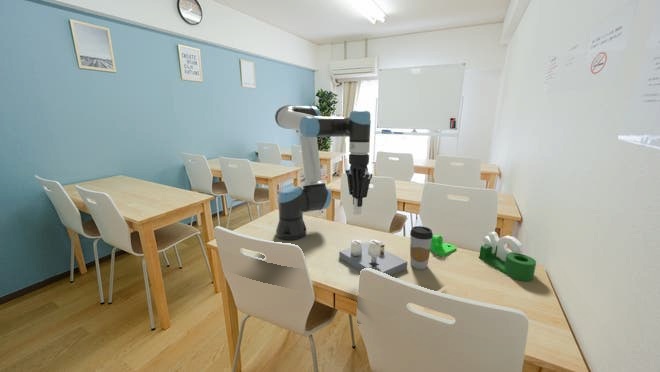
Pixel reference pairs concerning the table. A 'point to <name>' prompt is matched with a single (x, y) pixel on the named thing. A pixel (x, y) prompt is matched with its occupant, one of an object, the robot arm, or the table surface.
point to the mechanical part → (441, 246)
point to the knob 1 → (356, 247)
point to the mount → (384, 262)
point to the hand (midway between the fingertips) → (357, 213)
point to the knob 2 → (374, 250)
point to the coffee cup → (420, 246)
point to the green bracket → (510, 263)
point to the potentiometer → (382, 249)
